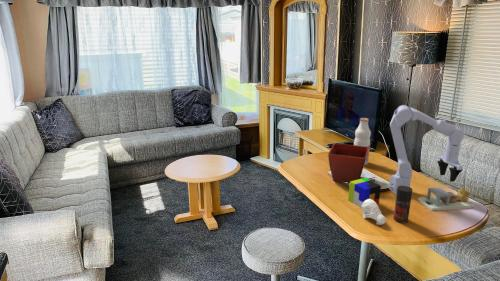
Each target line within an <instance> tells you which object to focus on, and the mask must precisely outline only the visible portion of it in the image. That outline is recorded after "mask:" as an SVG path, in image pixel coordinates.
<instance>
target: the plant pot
mask: <svg viewBox="0 0 500 281" xmlns="http://www.w3.org/2000/svg"><path fill="white" fill-rule="evenodd" d="M368 149H369V148H368V147H363V146H354V144H353V145H352V144H345V143H344V144H343V143H333V144H332V146H331V148H330V149H329V151H328V165H329V169H330V173H331V176H332V180H333V182H337V183H343V182H348V183H347V184H350V181H354V180H358V179H361V177H362V173H363V171H364V167H365V165H364V164H365V161H366V157H367V153H368ZM369 150H370V149H369Z"/></svg>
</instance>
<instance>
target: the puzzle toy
mask: <svg viewBox="0 0 500 281" xmlns="http://www.w3.org/2000/svg"><path fill="white" fill-rule="evenodd" d="M381 188H382V185H381V184H379V183H377V182H375V181H373V180H372V179H369V178H367V177H363V178H360V179H358V180H354V181H350V183H349V186H348V196H347V197H348V198H347V199H348V201H349V202H350V203H352V204H354V205H355V206H357V207H358V208H360V209H362V207H361V206H362V204H363V202H364V201H365V200H367V199H372V200H373V201H375V202H376V204H377V205H378V206H379V204H380V196H381V190H382V189H381Z"/></svg>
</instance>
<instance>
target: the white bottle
mask: <svg viewBox="0 0 500 281" xmlns="http://www.w3.org/2000/svg"><path fill="white" fill-rule="evenodd" d="M354 135H355V138H354V141H353V145H354V146H363V147H368V148H369V149H368V153H367V157H366V161H365V164H364V166H367V165H368V163H369V158H370V157H369V156H370V148H371V139H370V138H371V136H372V131H371V129H370V127H369V118H366V117H361V118H359V125H358V127H356V129H355V132H354Z"/></svg>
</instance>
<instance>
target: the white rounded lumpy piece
mask: <svg viewBox="0 0 500 281" xmlns="http://www.w3.org/2000/svg"><path fill="white" fill-rule="evenodd" d="M361 207H362V208H361V212H362V218H363V219H364V220H365V219H367V218H371V219H372V220H374V221H375V222H376V226H377V225H378V226H382V225H384V224H385V223H386V221H387V219H386V217H385V216H384V215H383V214H382V211H381V209H380V207H379V205H377V204H376V202H375V201H373V200H372V199H367V200H365V201H364V202H363V204H362V206H361Z"/></svg>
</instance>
